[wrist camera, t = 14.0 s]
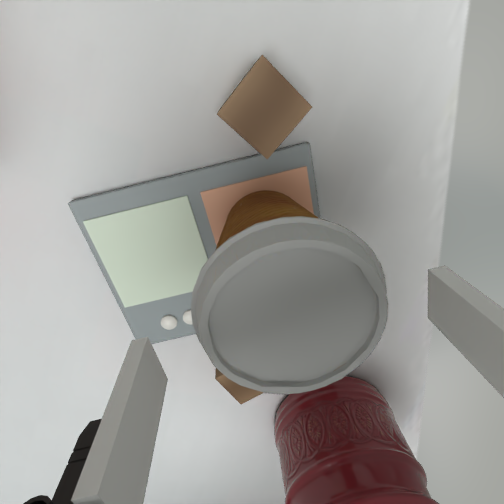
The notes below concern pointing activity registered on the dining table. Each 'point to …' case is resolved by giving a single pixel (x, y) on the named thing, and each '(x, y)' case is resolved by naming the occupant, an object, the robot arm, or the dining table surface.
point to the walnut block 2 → (264, 108)
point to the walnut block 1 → (236, 388)
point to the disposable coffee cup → (287, 298)
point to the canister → (346, 448)
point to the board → (179, 232)
